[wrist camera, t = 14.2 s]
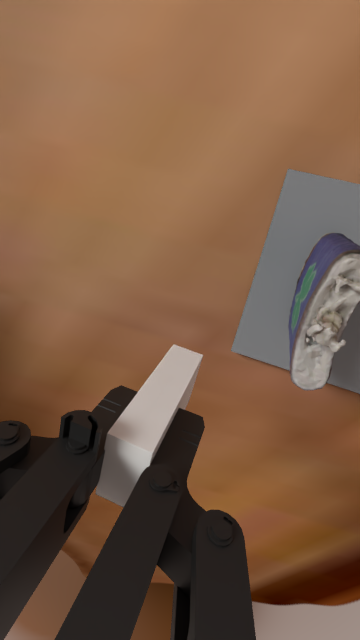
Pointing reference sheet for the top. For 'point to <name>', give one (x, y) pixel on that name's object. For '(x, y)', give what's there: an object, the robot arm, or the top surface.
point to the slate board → (286, 264)
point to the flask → (322, 308)
